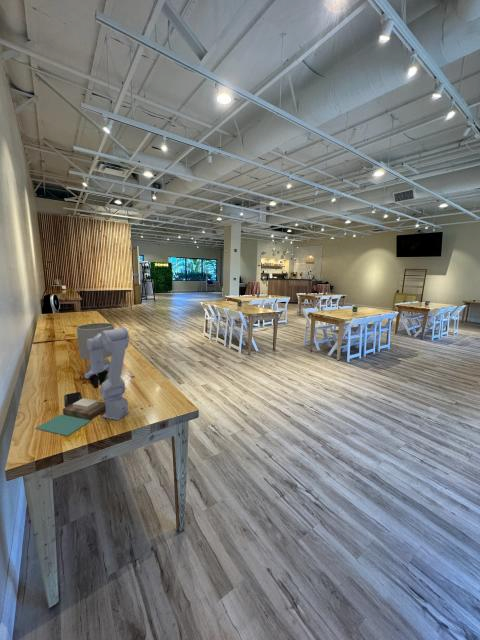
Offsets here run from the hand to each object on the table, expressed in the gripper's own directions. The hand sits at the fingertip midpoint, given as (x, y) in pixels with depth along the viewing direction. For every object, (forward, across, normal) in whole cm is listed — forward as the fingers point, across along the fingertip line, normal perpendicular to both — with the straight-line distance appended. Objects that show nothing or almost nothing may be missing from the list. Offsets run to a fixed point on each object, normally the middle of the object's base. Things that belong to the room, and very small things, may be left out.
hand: (99, 386), depth 137 cm
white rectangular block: (+5, +9, 0) cm, 10 cm away
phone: (+10, +1, -17) cm, 20 cm away
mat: (+9, +21, 0) cm, 23 cm away
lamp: (+10, -24, -23) cm, 35 cm away
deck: (+9, +9, 0) cm, 13 cm away
